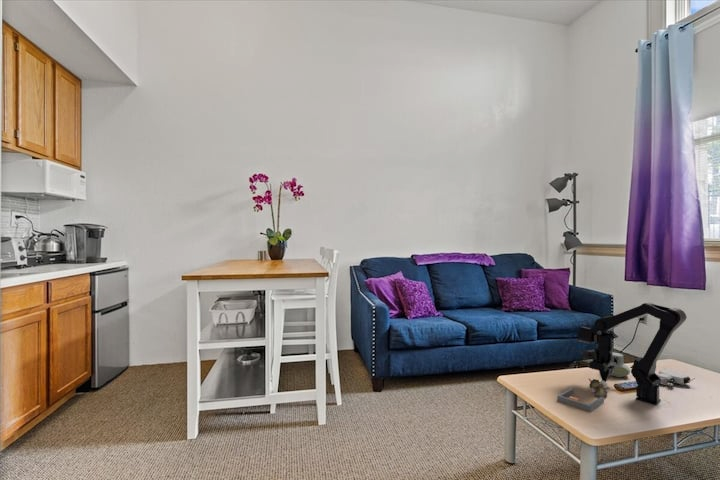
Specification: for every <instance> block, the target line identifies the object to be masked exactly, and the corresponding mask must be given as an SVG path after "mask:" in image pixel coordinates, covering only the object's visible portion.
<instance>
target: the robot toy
mask: <svg viewBox="0 0 720 480" xmlns="http://www.w3.org/2000/svg"><path fill="white" fill-rule="evenodd" d="M656 375H657V376H658V377H659V378H660V379H661V380H662V381H661V383H660V384H661V385H663V386H671V387H673V386H674V385H675V384H677V385H681V386H683V385H686V384H690V382H692V381H694V380H695V379H696V377H693V378H692V379H691V376H689V375H688V374H686V373H683V372H681V371H677V370H673V369H667V368H664V369H661V370H659V371H658V373H657V374H656ZM660 384H659V385H660Z"/></svg>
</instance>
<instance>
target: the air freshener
mask: <svg viewBox="0 0 720 480" xmlns="http://www.w3.org/2000/svg"><path fill="white" fill-rule="evenodd" d="M612 355H613V356H617V357H618V358H619V359H620V363H619V364H616V362H611V363H610V364H611V365H612V366H615V368H614V369H613V371H612V372H611V374H610V376H612V377H615V378H623V377H627V376H629V375H630V374H631V368H630V367H629V366H628V365H627V364H625V363H624V361H625V360H624V359H625V358H624V355H623V354H622V353H619V352H615V351H614V352H612Z"/></svg>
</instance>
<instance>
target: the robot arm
mask: <svg viewBox="0 0 720 480" xmlns="http://www.w3.org/2000/svg"><path fill="white" fill-rule="evenodd" d="M646 314H647V315H650V316H652V317H654V318H656V319H659V328H658V330H657V332H656V333H655V336H654V337H653V339H652V341H651V343H650V345H649V346H648V348H647V350H646V352H645V354H644V355H643V357H642V356H641V357H638V358H636V359H634V361H633V364H632V365H631V366H630V367H629V369H630V374H631V375H632V377H633V378H634V379H635V382H636V384H637V385H636V387H635V389H636V392H635V395H636V400H638V401H642V402H646V403H648V404H652V405H657V404H659V403H660V402H661V398H660V386H659V385H660V383H661V381H662V380H661V379H660V378H659V377H658V376H657V374H656V370H657V362H658V360H659V358H660V356H661V354H662V352H663V351H664V349H665V348H666V345H667V343H669V340H670V339H671V337H672V335H673V334H674V332H676V330H677V329H679V328H680V327H681V325H683V324H684V322H686V319H687V314H686V313H685V311H684V310H682V309H681V308H676V307H674V308H670V307H667V306H663V305H658V304H654V303H652V302H645V303H642V304H640V305H638V306H635V307H633V308H630V309H628V310H626V311H622V312H620V313H617V314H616V315H615V314H614V315H610V316H609V315H608V316H605V317H604V316H603V317H601V318H597V319H595V321H594V324H593V326H592V327H587V326H579V330H578V332H577V334H576V338H577V341H578V342H582V343H586V344H592V345H593V344H595V343H596V347H594V349H591V350H589V349H586V350H582V352H581V355H580V356H581V357H582V358H583V360H588V359H589V360H590V359H593V360H591V361H590V362H588V364H587V365H588V368H589V369H592V370H596V371H598V372H599V375H600V378H601V380H603V381H605V382H606V383H607V381H608V379H609V377H610V376H611V375H610V374H611V372H612V371H613V369H614V368H615V366H612V365H611V364H610V363H611V362H616V364H619V363H620V359H619V358H618V357H617V356H613V355H612V352H614V353H615V349H614V348H613V339H615V340H616V339H617V338H619V335H617V334H616V333H615V332H614V331H612V330H614V329H616V328H617V327H619V326H620V325H621V324H623V323H625V322H629V321H630V320H633V319H636V318H639V317H641V316H642V317H643V316H645V315H646ZM608 331H611V332H608Z"/></svg>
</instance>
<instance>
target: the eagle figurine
mask: <svg viewBox="0 0 720 480" xmlns="http://www.w3.org/2000/svg"><path fill="white" fill-rule="evenodd" d="M587 380H589V386H588V387H589V389H592V390H591V391H590V393H595V392H596V393H595V395H594V397H595V398H597V399H598V398H600V397H604V399H606V398H607V395H608V393H607V392H608V391H607V390H606V389H607V387H608V383H607V381H606V382H605V381H603V380H602V379H601V380H599V379H595V378H593V379H591V378H588V379H587Z"/></svg>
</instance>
